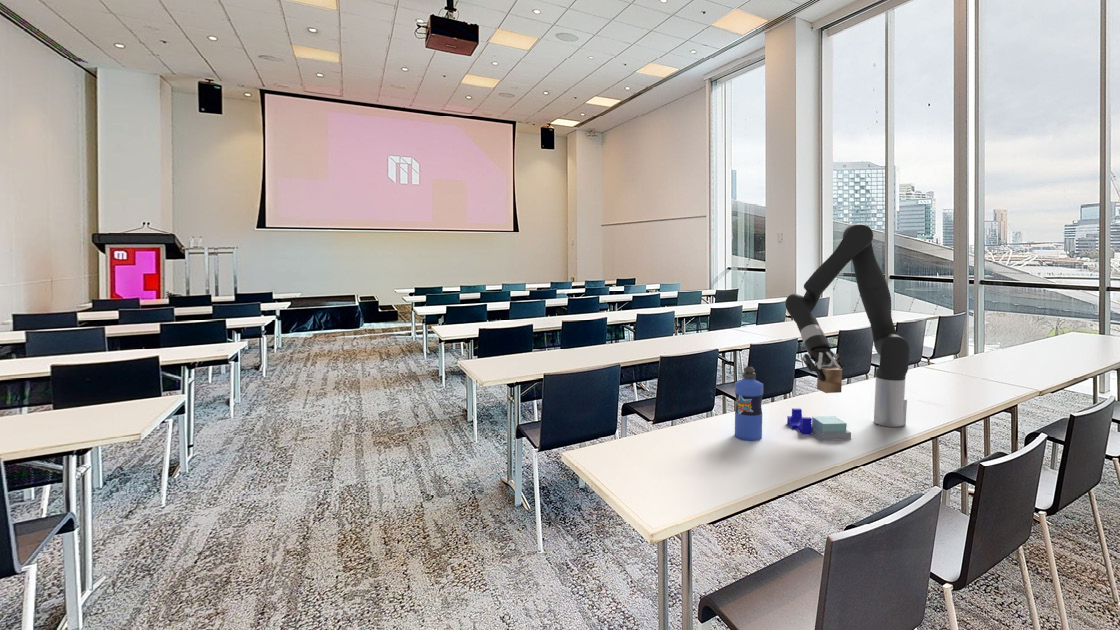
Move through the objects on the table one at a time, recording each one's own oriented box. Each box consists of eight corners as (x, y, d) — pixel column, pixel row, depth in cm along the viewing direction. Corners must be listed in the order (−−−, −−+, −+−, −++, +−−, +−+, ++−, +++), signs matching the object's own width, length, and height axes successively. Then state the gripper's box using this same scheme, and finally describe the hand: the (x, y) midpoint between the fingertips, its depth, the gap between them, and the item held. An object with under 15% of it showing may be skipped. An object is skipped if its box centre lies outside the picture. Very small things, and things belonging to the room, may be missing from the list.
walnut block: (832, 388, 187) (832, 366, 186) (841, 392, 182) (842, 369, 181) (817, 389, 187) (817, 366, 186) (825, 393, 181) (826, 370, 180)
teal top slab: (834, 424, 189) (834, 416, 189) (846, 431, 181) (846, 423, 181) (812, 424, 190) (812, 416, 189) (822, 432, 182) (823, 423, 181)
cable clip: (787, 423, 199) (787, 408, 198) (799, 424, 198) (800, 408, 198) (797, 434, 187) (798, 418, 186) (811, 435, 187) (811, 418, 186)
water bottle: (741, 430, 192) (742, 362, 190) (766, 436, 186) (768, 366, 183) (729, 437, 186) (730, 367, 183) (754, 443, 179) (756, 370, 176)
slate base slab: (834, 431, 191) (834, 423, 191) (850, 440, 181) (851, 432, 181) (807, 432, 191) (807, 424, 190) (822, 442, 181) (822, 433, 180)
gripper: (799, 334, 189) (816, 375, 179) (838, 333, 190) (857, 373, 180) (791, 346, 195) (808, 386, 184) (829, 345, 196) (847, 384, 185)
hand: (832, 379), depth 182 cm, fingers closed on walnut block, 5 cm apart
